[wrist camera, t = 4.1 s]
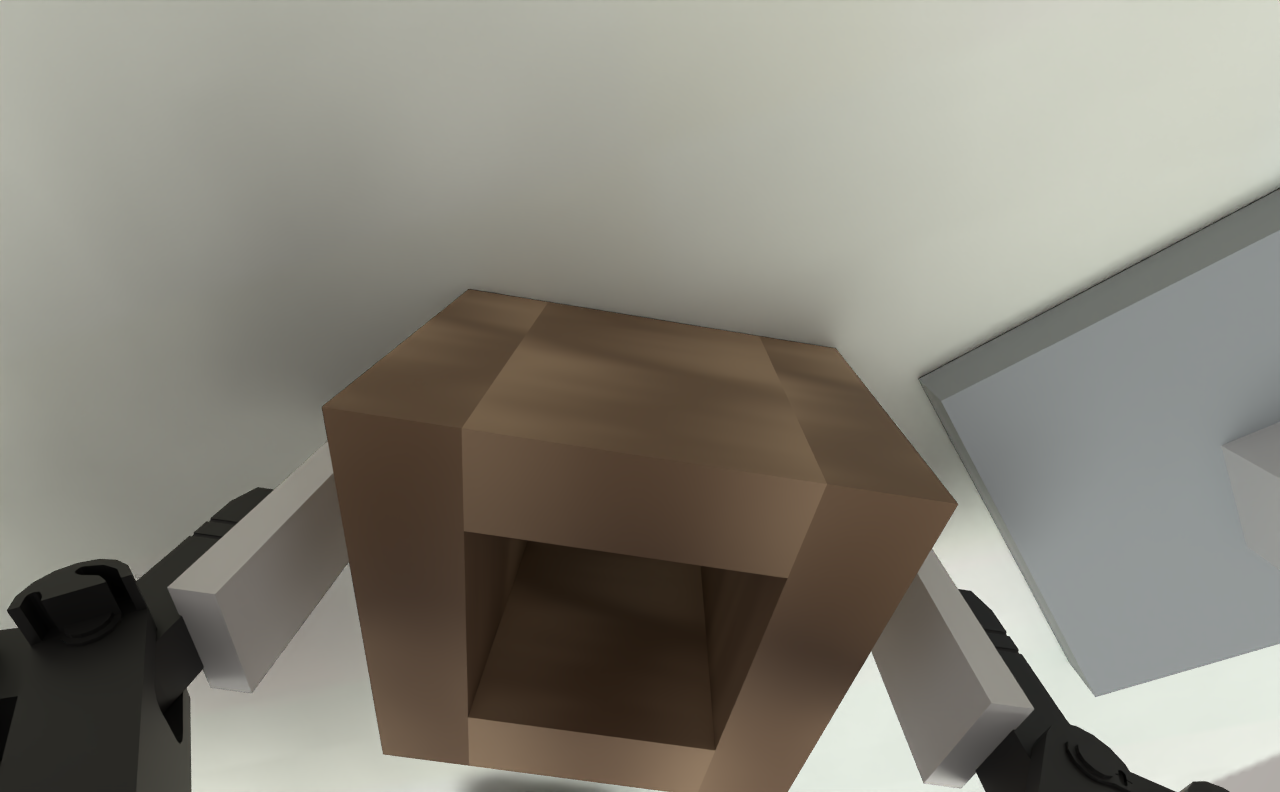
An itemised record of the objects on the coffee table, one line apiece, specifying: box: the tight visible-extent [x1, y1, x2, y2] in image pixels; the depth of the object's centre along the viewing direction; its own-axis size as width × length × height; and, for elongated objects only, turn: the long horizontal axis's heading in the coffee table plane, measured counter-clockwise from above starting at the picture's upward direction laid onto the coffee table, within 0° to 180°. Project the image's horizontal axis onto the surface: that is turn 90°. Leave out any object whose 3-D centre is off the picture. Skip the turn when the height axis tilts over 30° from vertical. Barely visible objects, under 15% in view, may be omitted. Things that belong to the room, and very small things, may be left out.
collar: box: [322, 289, 958, 792], centre depth 12 cm, size 9×9×6 cm
